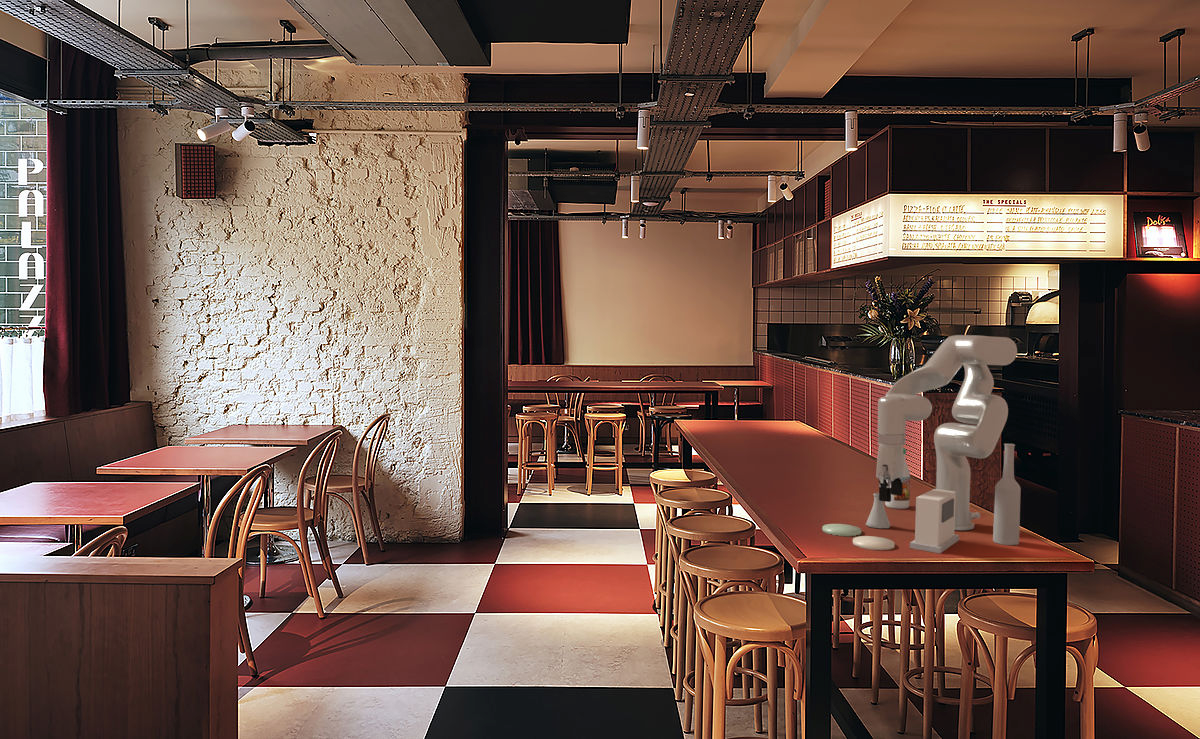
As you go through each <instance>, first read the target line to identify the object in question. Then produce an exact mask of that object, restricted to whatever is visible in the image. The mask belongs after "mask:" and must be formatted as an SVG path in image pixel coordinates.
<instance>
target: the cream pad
mask: <svg viewBox="0 0 1200 739" xmlns="http://www.w3.org/2000/svg"><path fill="white" fill-rule="evenodd" d="M852 544H853V545H854V546H855V547H857V546H858V548H862V549H864V550H871V551H872V550H873V551H887V550H888V551H889V550H890V551H891V550H892V549H894V548H895V542H894V541H893V540H892V539H889V538H885V537H880V536H871V535H870V536H869V535H861V536H860V535H858V536H854V537H853V538H852Z"/></svg>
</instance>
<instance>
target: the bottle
mask: <svg viewBox="0 0 1200 739" xmlns="http://www.w3.org/2000/svg"><path fill="white" fill-rule="evenodd" d="M1003 445H1004V453H1003V454H1004V457H1003V468H1002V477H1001V479H999V480H998V481H997V482H996V484H995V486H994V509H993V510H994V511H993V525H992V526H993V527H992V528H993V529H992V532H993V533H992V542H994V543H996V544H998V545H1002V546H1018V545H1020V530H1021V529H1020V526H1021V524H1020V523H1021V522H1020V520H1021V492H1022V491H1021V489H1022V488H1021V486H1020V484H1019V483H1018V482H1017V481H1016V479H1015V464H1014V463H1015V447H1016V444H1014V443H1003Z"/></svg>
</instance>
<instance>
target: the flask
mask: <svg viewBox="0 0 1200 739" xmlns="http://www.w3.org/2000/svg"><path fill="white" fill-rule="evenodd" d="M872 496H873V499H874V500H873V504H872V508H871V510H870V513H869V515H868V518H867V520H866V523H865V526H867V527H869V528H873V529H889V528H890V527H891V523H890V521H889V518H888V515H887V512H886V507H885V501H880V500H879V492H874V493H873V495H872Z"/></svg>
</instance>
